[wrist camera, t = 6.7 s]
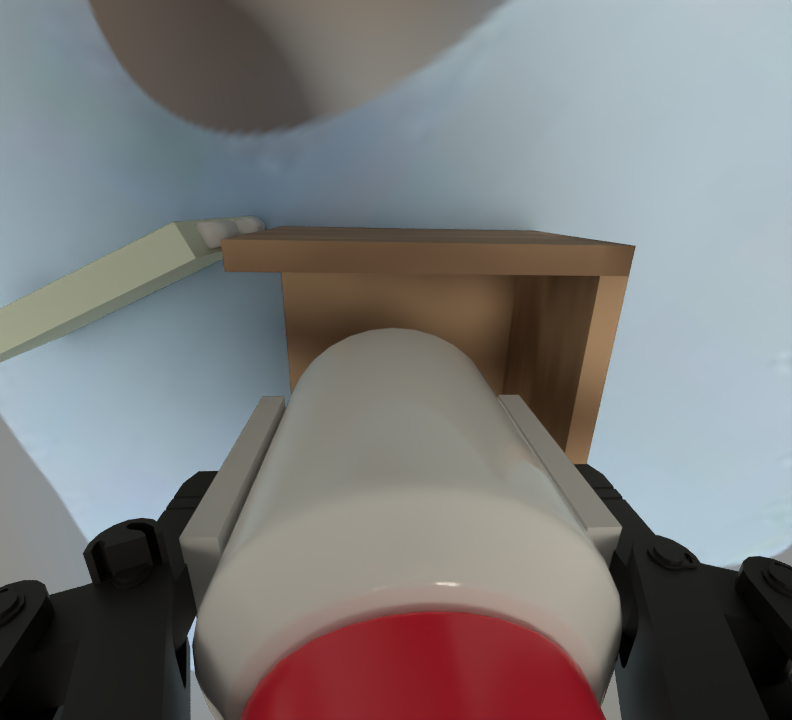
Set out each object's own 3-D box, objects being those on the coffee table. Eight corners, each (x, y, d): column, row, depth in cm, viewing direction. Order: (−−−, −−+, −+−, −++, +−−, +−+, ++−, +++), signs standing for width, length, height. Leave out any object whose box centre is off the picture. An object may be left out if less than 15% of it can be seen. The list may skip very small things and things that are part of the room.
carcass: (281, 226, 21) (220, 239, 13) (534, 230, 22) (635, 246, 13) (298, 440, 26) (262, 554, 17) (506, 437, 26) (567, 546, 18)
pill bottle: (455, 292, 13) (727, 569, 3) (517, 468, 16) (774, 931, 6) (248, 376, 14) (-91, 834, 4) (341, 532, 17) (292, 1048, 6)
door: (250, 187, 20) (165, 174, 12) (275, 233, 21) (211, 250, 13) (31, 297, 21) (-182, 353, 13) (62, 336, 22) (-120, 412, 14)
